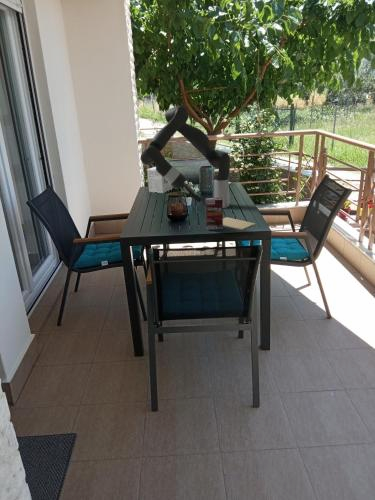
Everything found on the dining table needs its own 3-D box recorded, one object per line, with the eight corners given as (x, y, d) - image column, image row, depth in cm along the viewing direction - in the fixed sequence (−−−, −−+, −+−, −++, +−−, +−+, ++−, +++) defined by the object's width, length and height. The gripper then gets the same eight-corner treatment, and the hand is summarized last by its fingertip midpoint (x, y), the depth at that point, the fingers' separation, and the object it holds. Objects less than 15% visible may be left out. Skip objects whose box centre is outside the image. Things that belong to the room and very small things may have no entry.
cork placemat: (226, 218, 221) (226, 217, 221) (255, 224, 207) (255, 223, 207) (212, 223, 213) (212, 222, 213) (241, 230, 200) (241, 229, 200)
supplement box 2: (206, 230, 202) (205, 200, 197) (206, 227, 207) (205, 198, 201) (223, 229, 203) (222, 199, 197) (222, 226, 207) (221, 197, 201)
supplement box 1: (162, 193, 288) (161, 169, 281) (148, 192, 295) (146, 168, 288) (173, 189, 298) (171, 166, 292) (159, 188, 305) (157, 165, 299)
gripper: (179, 174, 187) (205, 198, 191) (180, 170, 199) (205, 192, 203) (169, 186, 189) (195, 209, 193) (170, 180, 201) (195, 203, 205)
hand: (200, 200), depth 198 cm, fingers closed
